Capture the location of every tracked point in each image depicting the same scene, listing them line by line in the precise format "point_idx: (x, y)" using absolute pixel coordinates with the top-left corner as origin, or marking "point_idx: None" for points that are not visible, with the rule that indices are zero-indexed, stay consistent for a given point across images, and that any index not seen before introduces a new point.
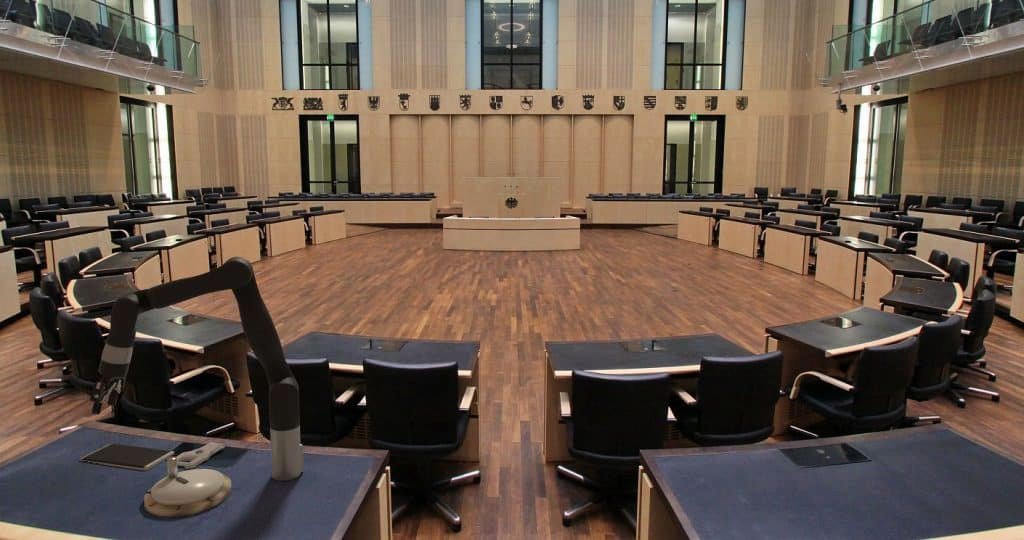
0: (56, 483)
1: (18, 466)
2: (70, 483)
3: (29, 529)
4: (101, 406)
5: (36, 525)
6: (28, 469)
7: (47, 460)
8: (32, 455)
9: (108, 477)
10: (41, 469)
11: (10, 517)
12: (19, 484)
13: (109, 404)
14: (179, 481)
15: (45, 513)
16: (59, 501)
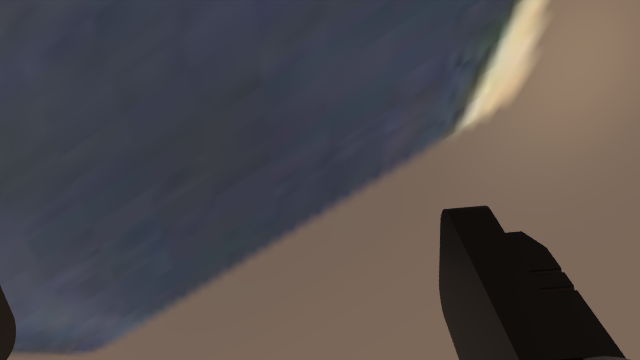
0: (175, 171)
1: (98, 328)
2: (163, 127)
3: (522, 35)
4: (517, 294)
5: (496, 30)
6: (107, 298)
7: (29, 295)
8: (19, 343)
9: (66, 10)
10: (94, 271)
11: (422, 147)
12: (205, 259)
13: (6, 311)
14: None
15: (405, 59)
16: (311, 71)
